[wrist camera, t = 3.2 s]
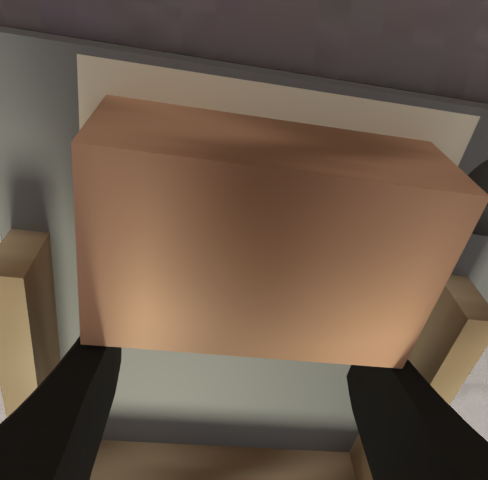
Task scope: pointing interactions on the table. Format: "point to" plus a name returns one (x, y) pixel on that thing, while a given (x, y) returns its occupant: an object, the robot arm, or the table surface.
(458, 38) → the table surface
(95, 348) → the robot arm
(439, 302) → the oak cubby
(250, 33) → the table surface
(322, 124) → the floor board
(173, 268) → the terracotta slab
